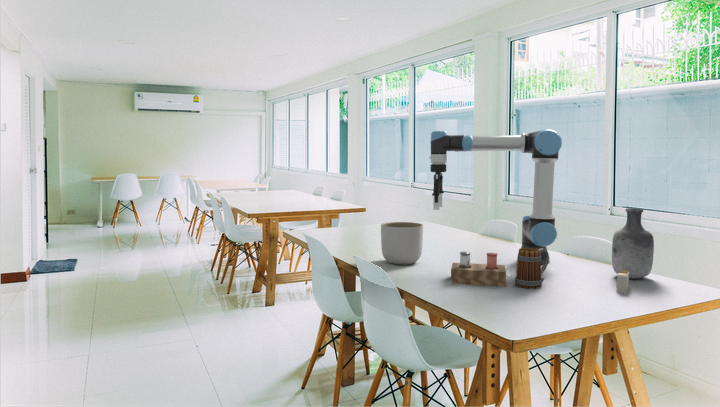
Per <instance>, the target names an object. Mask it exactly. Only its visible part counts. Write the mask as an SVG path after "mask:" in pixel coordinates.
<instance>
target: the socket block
mask: <svg viewBox="0 0 720 407" xmlns="http://www.w3.org/2000/svg"><path fill="white" fill-rule="evenodd" d="M450 284H453V285H466V286H467V285H471V286H486V287H487V286H491V287H506V286H507V270H506V266H505V264H497V269H487V263H473V262H470V268H460V262H452V264H451V268H450Z"/></svg>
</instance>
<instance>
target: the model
mask: <svg viewBox="0 0 720 407" xmlns="http://www.w3.org/2000/svg"><path fill="white" fill-rule="evenodd" d="M616 275H617V277H616V293H620V292H622V293H621V294H627V292H626V291H628V290H629V288H630V287H629V285H630V278H629V272H628V270H623V269H622V273H618V274H617V273H616Z"/></svg>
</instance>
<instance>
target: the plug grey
mask: <svg viewBox="0 0 720 407" xmlns="http://www.w3.org/2000/svg"><path fill="white" fill-rule="evenodd" d="M471 253H472V252H469V251H460V252H459V256H460V257H459V258H460V259H459V261H460V262H459V263H460V268H470V263H471Z"/></svg>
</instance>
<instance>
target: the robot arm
mask: <svg viewBox="0 0 720 407" xmlns="http://www.w3.org/2000/svg"><path fill="white" fill-rule="evenodd" d="M430 134H431V135H430V156H429V159H430V163H431V164H430V167H429V168H430V169H429V170H430V173H435V174H434V175H433V189H432V190H433V191H432V192H433V193H431V196H432V197H433V202H432V204H433V208H432V209H433V210H435V211H436V210H438V211H439V210H440V207H441V208H442V207H443V194H444V193H445V191H444V190H443V183H444V182H443V180H444V179H443V178H444V176H443V173H446V172H447V163H448V162H447V157H448V156H447V154H448V153H447V152H520V153H522V154H531V159H532V161H533V162H534V174H533V175H534V176H533V178H534V179H533V180H534V182H533V198H532V202H533V203H532V213H531V214H530V215H524V216H523V217H522V223H521V224H522V226H521V228H522V229H521V247H520V248H529V249H530V248H534V249H540V248H543V249H546V250H547V251H548V248H547V247H549V246H550V245H552V244H553V243H554V242H555V241H556V239H557V237H558V236H557V235H558V232H557V228H556V217H555V215H554V214H553V198H554V195H553V194H554V181H555V163H556V162H557V161H558V160H559V152H560V150H561V148H562V144H563V142H562V141H563V140H562V137H561V135H559V133H558V132H556V131H555V130H553V129H542V130H541V129H540V130H538V131H537V130H536V131H534V132H533V131H532V132H523V133H521V134H519V135H517V134H515V135H514V134H513V135H467V134H461V135H460V134H457V135H454V134H453V135H452V134H451V135H449V134H448V132H447V131H445V130H434V131H431V133H430ZM540 255H541V265H543V263H544V252H543V251H542V252H541V254H540ZM549 263H550V257H549V261H548V264H549Z"/></svg>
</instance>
